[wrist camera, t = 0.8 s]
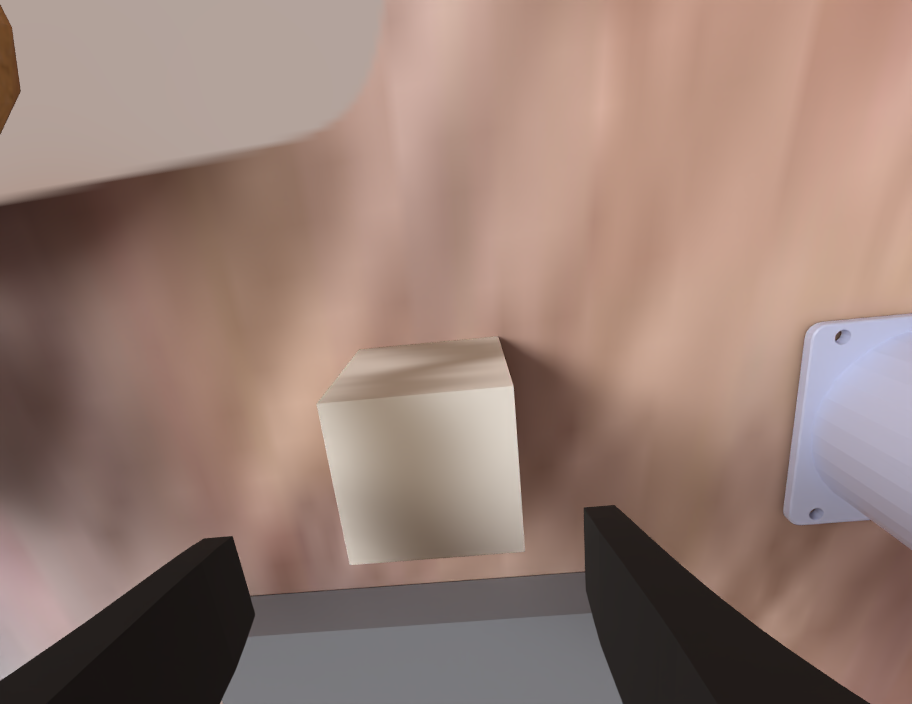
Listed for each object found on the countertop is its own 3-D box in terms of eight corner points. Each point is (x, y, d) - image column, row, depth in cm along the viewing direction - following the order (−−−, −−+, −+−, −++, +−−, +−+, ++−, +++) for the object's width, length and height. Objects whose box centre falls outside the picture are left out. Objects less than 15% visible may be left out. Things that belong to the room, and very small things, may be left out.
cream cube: (497, 335, 16) (513, 386, 11) (507, 459, 17) (525, 551, 13) (359, 348, 16) (316, 403, 11) (380, 470, 18) (349, 564, 13)
